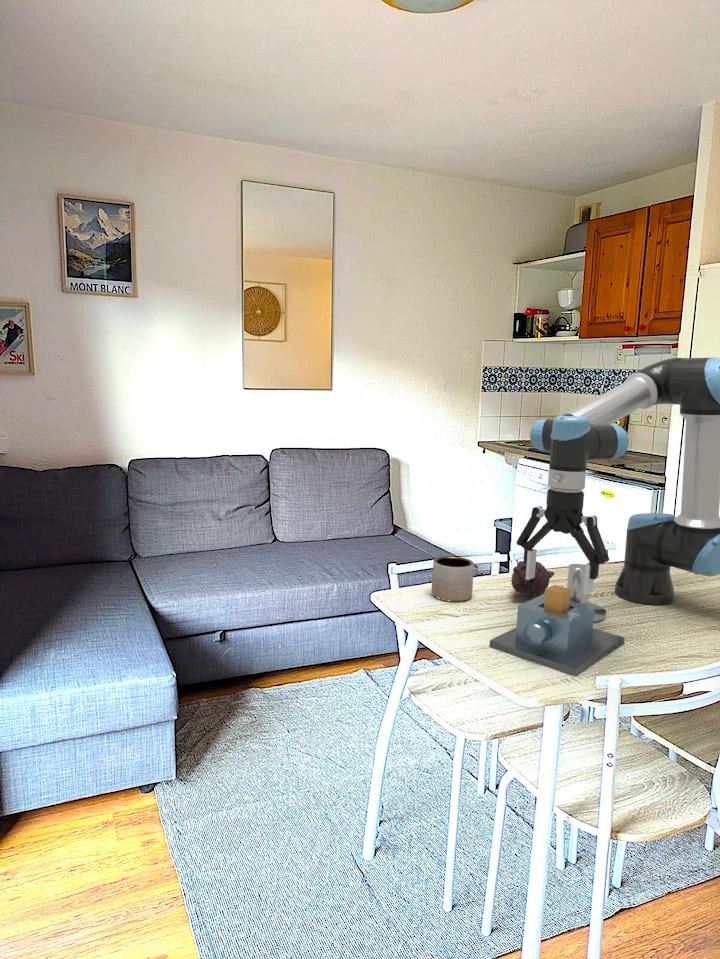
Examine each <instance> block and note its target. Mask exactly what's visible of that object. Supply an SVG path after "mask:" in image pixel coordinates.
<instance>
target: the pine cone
mask: <svg viewBox="0 0 720 959" xmlns="http://www.w3.org/2000/svg"><path fill="white" fill-rule="evenodd" d="M526 566H527V564H526V563H524V560H523V561H522V560H519V561H518V562H517V565H516V566H514V567H513V568H512V572H513V573H512V574H511V586H512V588H513V590H514V591H515V592H517V593H521V594H528V593H529V594H528V595H530V596H532V597H533V596H537V597H538V596H541V595H543V594H545V588H548V587H549V582H550V579H552V578H553V576H554V575H555V572H554V571H550V570H547V569H546V567H545V566H544V565H543V564H542V563H541V562H540V561H537V560H536V566H535V578H532V579H530V580H527V579H526Z"/></svg>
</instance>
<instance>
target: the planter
mask: <svg viewBox="0 0 720 959" xmlns="http://www.w3.org/2000/svg"><path fill="white" fill-rule="evenodd" d="M432 561H433V563H432V578H431V595H432V594H433V595H434V596H436V597H438V598H440V599H444V600H450V601H462V602H465V601H464V600H466V601H468V600H470V599H471V598H472V597H473V584H474V566H475V565H474V564H475V563H474V561H473V560H471V559H468V558H465V557H461V556H453V555H452V556H451V555H450V556H445V555H444V556H439V557H436V558H434V559H433V560H432ZM433 595H432V596H433ZM434 596H433V597H434ZM436 597H435V598H436ZM438 598H437V599H438ZM440 599H439V600H440Z"/></svg>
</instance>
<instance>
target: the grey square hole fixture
mask: <svg viewBox="0 0 720 959" xmlns="http://www.w3.org/2000/svg"><path fill="white" fill-rule="evenodd" d="M585 571H586V564H582V563H571V564H569V565H568V571H567V574H568V575H567V584H566V588H568V589H571V596H570V606H569V610H568V611H566V612H565V613H560V612H556V611H553V610H549V609H546V608H544V598H545V593H544V594H540V595H538V596H537V597H534V598H532V599H530V600H528V601H526V602H523V603H521V604H519V605H517V617H516V627H514V628H512V629H510V630H508V631H506V632H504V633H502V634H500V635H498V636H495V637H493V638H492V639H490V640H489V647H490V648H492V649H495V650H499V651H501V652H504V653H507V654H510V655H512V656H516V657H519V658H520V659H521V658H522V659H525V660H527V661H530V662H533V663H535V662H536V663H537V665H538V664H539V665H542V666H545V667H548V668H551V669H552V670H556V671H559V672H562V673H565V674H567V675H570V676H573V677H577V676H578V675H579V674H581V673H583V671H585V670H587V669H588V668H590V667H591V666H593V665H594V664H596V663H597V662H600V660H602V659H604V658H605V657H606V656H608V655H610V654H611V653H612V652H613V651H615V650H617V649H619V648H620V647H622V646H623V645H624V644H625V637H624V636H621V635H616V634H614V633H610V632H608V631H603V630H600V629H596V628H594V624H600V623H602V622H604V621H605V620H606V619H607V611H606V609H605V608H604V607H603V606H600V605H598V604H596V603H593V602H589V595H590V594H588V595H585V594H584V583H585ZM536 663H535V664H536Z"/></svg>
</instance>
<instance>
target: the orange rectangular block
mask: <svg viewBox="0 0 720 959" xmlns="http://www.w3.org/2000/svg"><path fill="white" fill-rule="evenodd" d="M544 594H545V598H544V608H546V609H549V610H553V611H556V612H560V613H565V612H566V611H568V610H569V606H570V596H571V589H568V588H567V587H566V586H565V587H564V586H560V585H557V584H553V585H550V586H548V587H547V588H545V592H544Z"/></svg>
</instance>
